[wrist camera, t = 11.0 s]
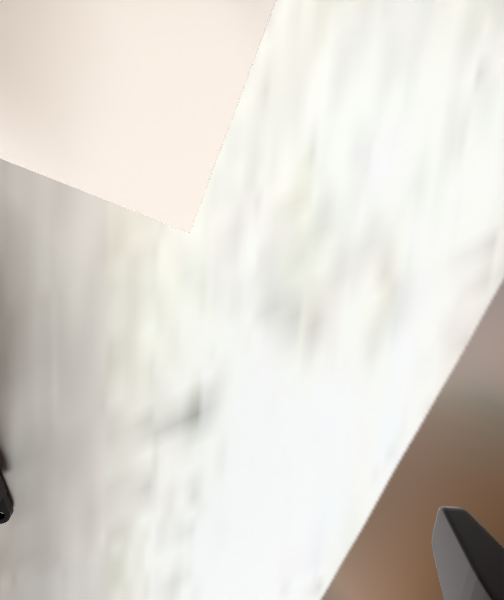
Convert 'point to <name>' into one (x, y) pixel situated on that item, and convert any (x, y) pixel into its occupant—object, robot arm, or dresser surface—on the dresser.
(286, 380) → the dresser surface
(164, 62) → the cream board with pegs
